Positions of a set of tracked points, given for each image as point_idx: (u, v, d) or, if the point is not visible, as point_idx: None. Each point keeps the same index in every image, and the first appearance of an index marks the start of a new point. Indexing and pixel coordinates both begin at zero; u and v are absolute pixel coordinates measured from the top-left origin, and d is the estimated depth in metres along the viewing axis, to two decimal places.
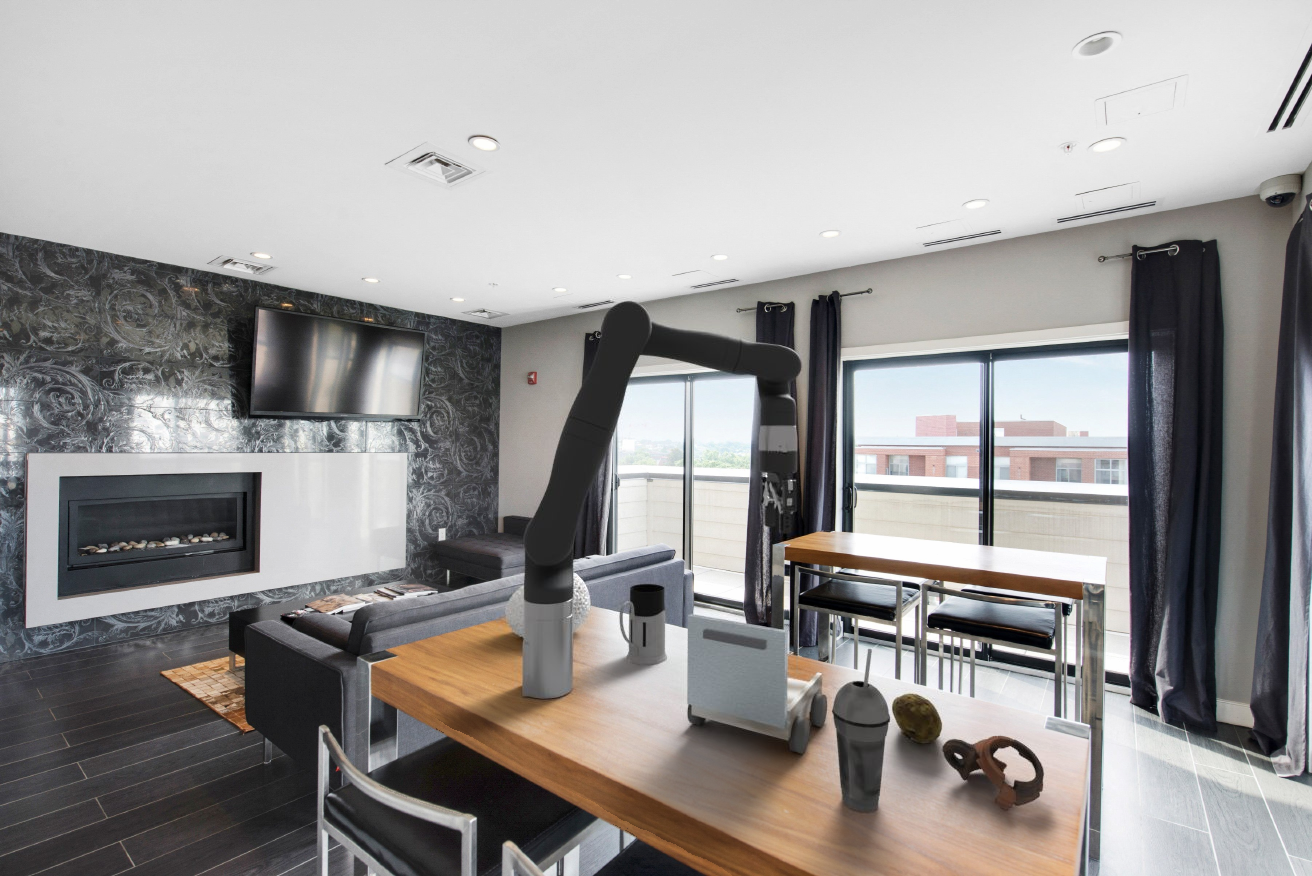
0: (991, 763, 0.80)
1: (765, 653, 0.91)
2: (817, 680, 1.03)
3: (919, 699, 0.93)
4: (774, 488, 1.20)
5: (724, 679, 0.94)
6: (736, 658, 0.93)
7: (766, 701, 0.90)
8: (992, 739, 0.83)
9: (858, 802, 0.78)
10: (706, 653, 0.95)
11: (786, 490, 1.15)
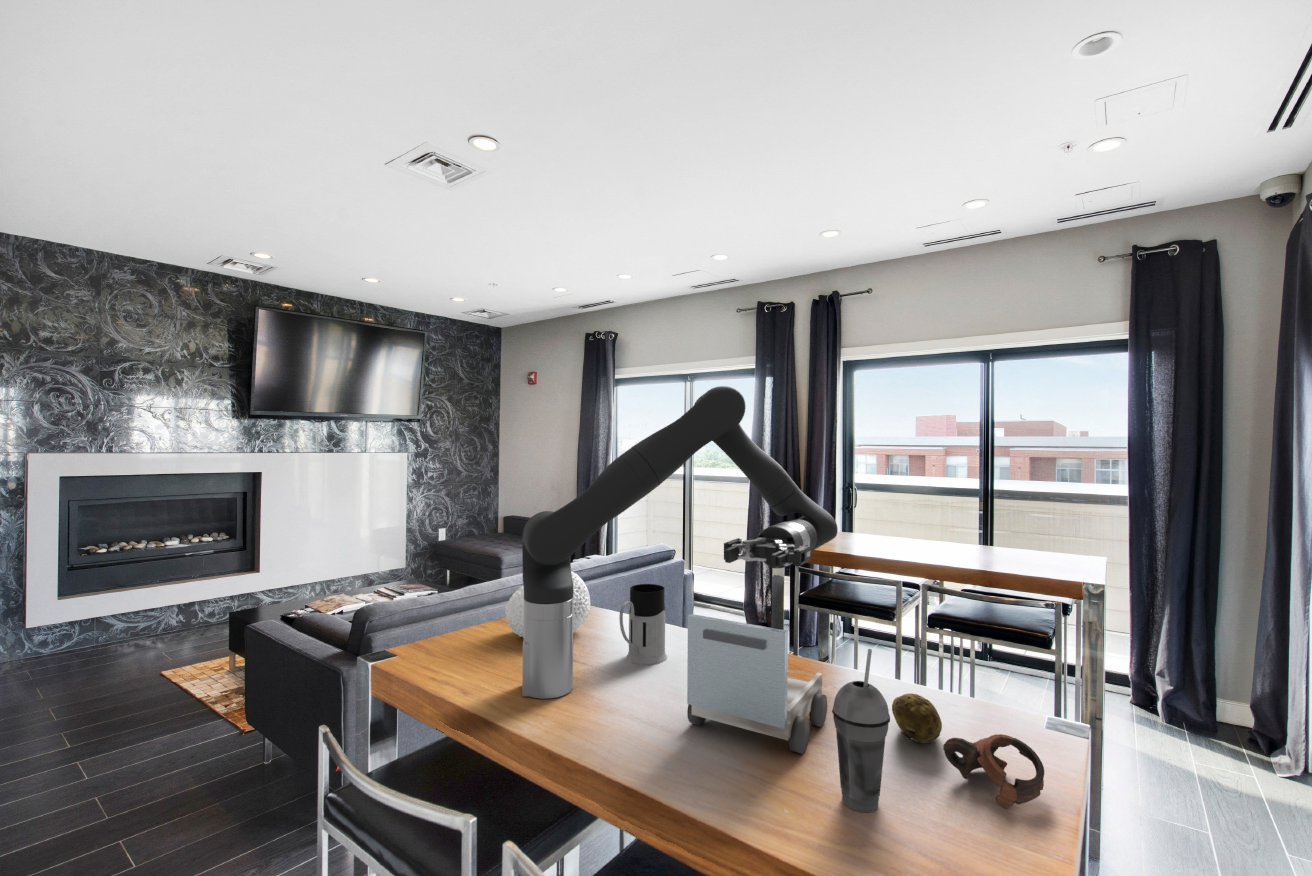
0: (992, 762, 0.80)
1: (765, 653, 0.91)
2: (817, 680, 1.03)
3: (919, 699, 0.93)
4: None
5: (724, 679, 0.94)
6: (736, 658, 0.93)
7: (766, 701, 0.90)
8: (993, 738, 0.83)
9: (858, 802, 0.78)
10: (706, 653, 0.95)
11: (807, 549, 1.02)
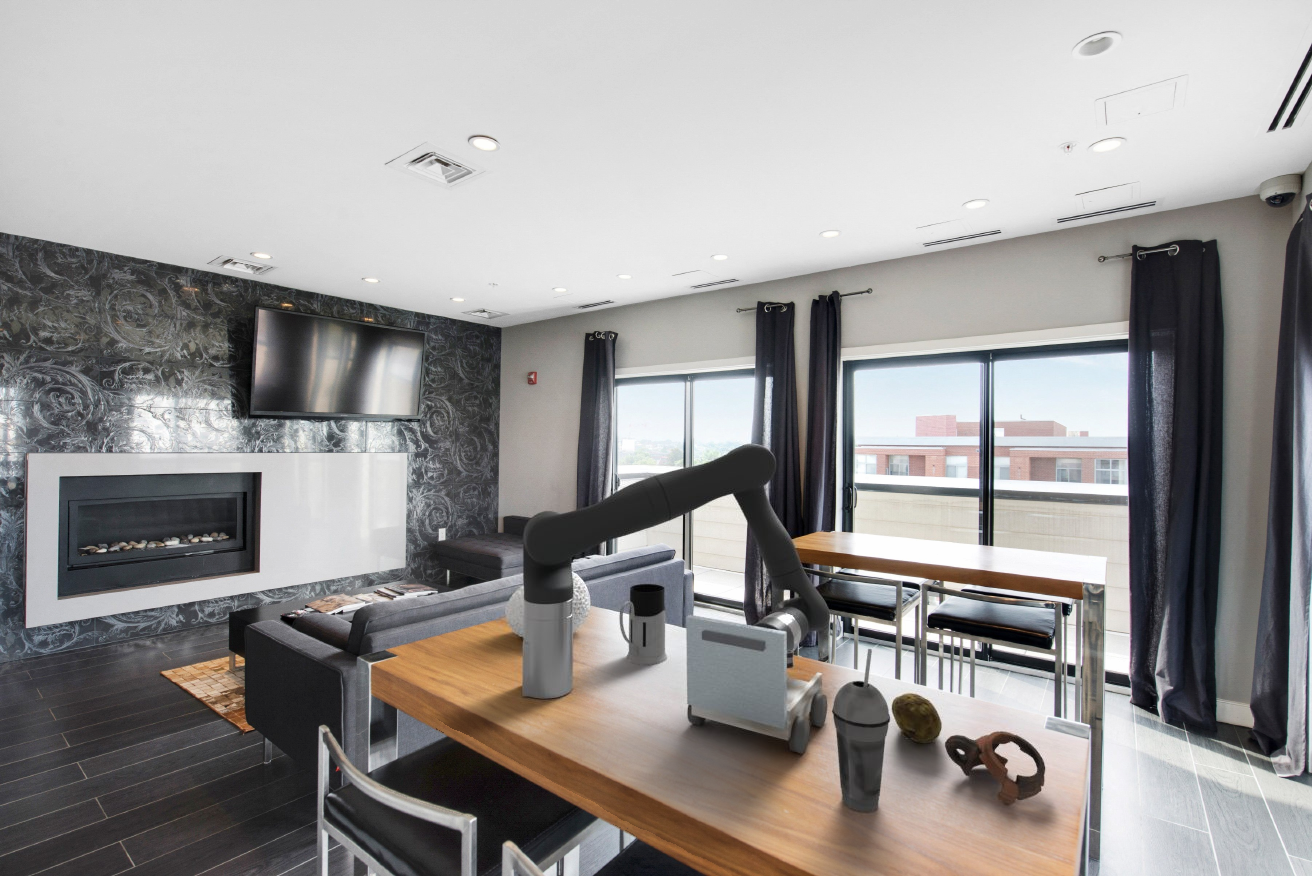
0: (994, 758, 0.81)
1: (764, 655, 0.90)
2: (817, 680, 1.03)
3: (918, 699, 0.93)
4: None
5: (723, 680, 0.94)
6: (735, 659, 0.93)
7: (766, 702, 0.90)
8: (994, 735, 0.84)
9: (858, 802, 0.78)
10: (705, 654, 0.95)
11: None
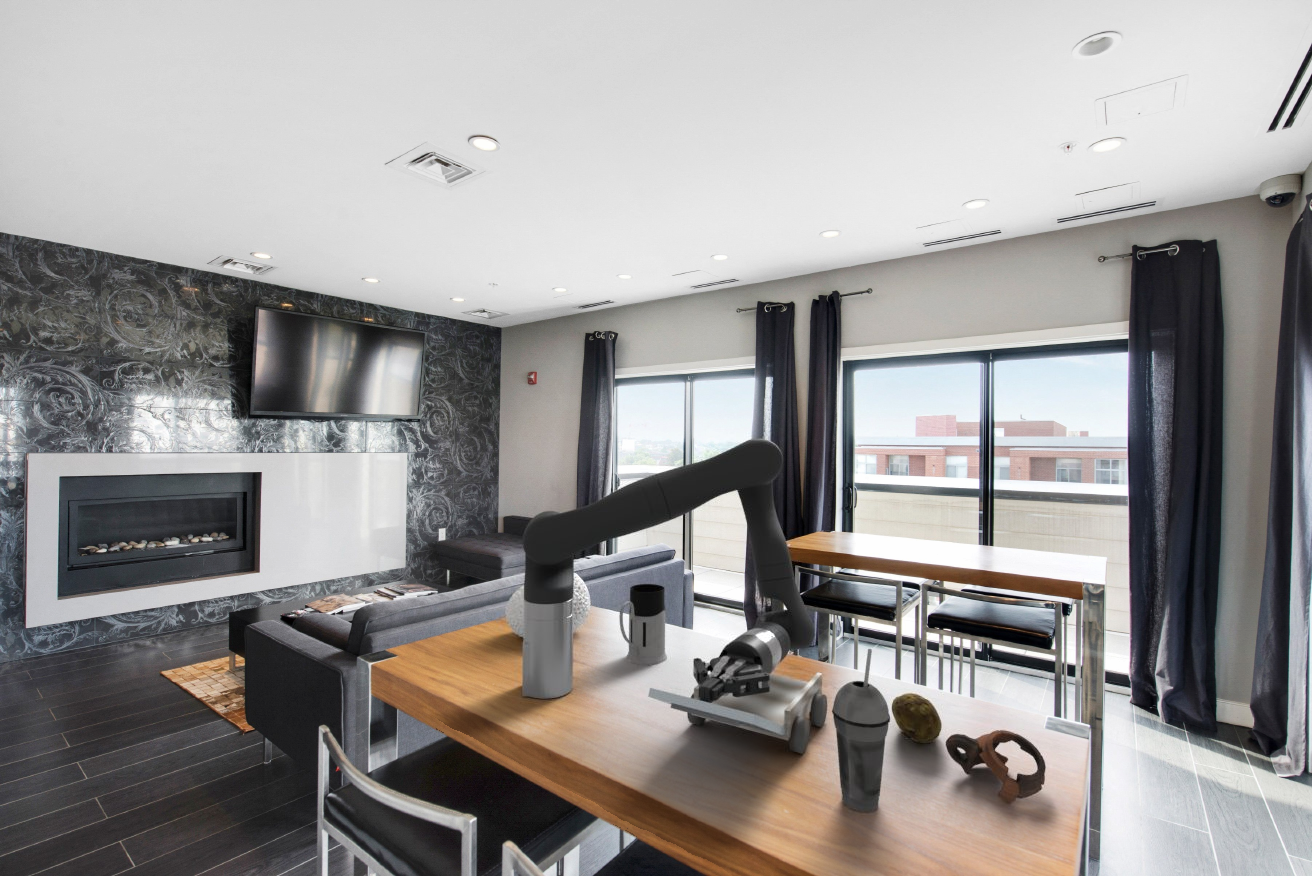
0: (994, 757, 0.81)
1: (741, 722, 0.83)
2: (817, 680, 1.03)
3: (918, 699, 0.93)
4: (742, 666, 0.91)
5: None
6: None
7: (759, 728, 0.88)
8: (995, 733, 0.84)
9: (858, 802, 0.78)
10: None
11: (759, 679, 0.88)
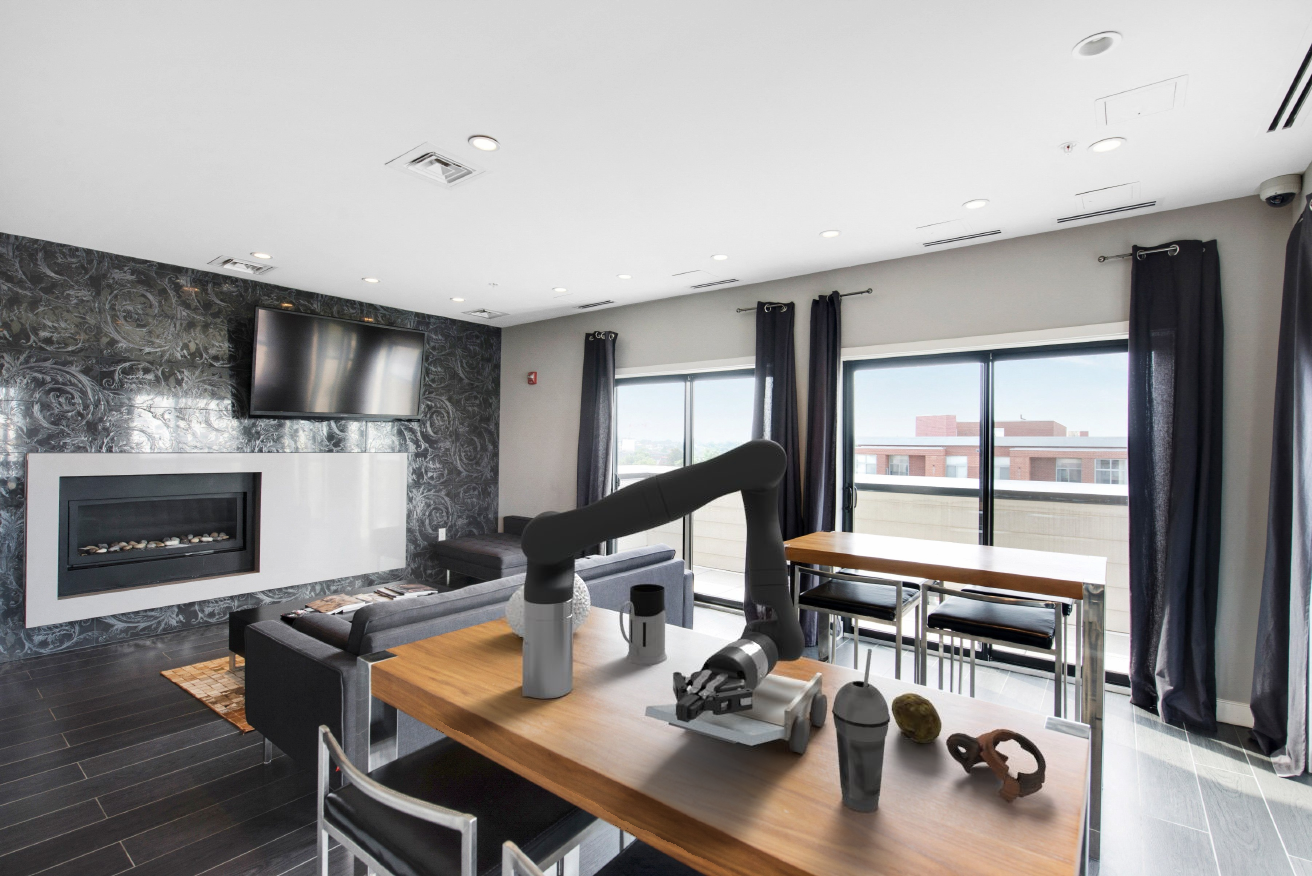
0: (995, 756, 0.82)
1: None
2: (817, 680, 1.03)
3: (918, 699, 0.93)
4: (723, 681, 0.86)
5: None
6: None
7: None
8: (995, 732, 0.85)
9: (858, 802, 0.78)
10: None
11: (741, 696, 0.82)
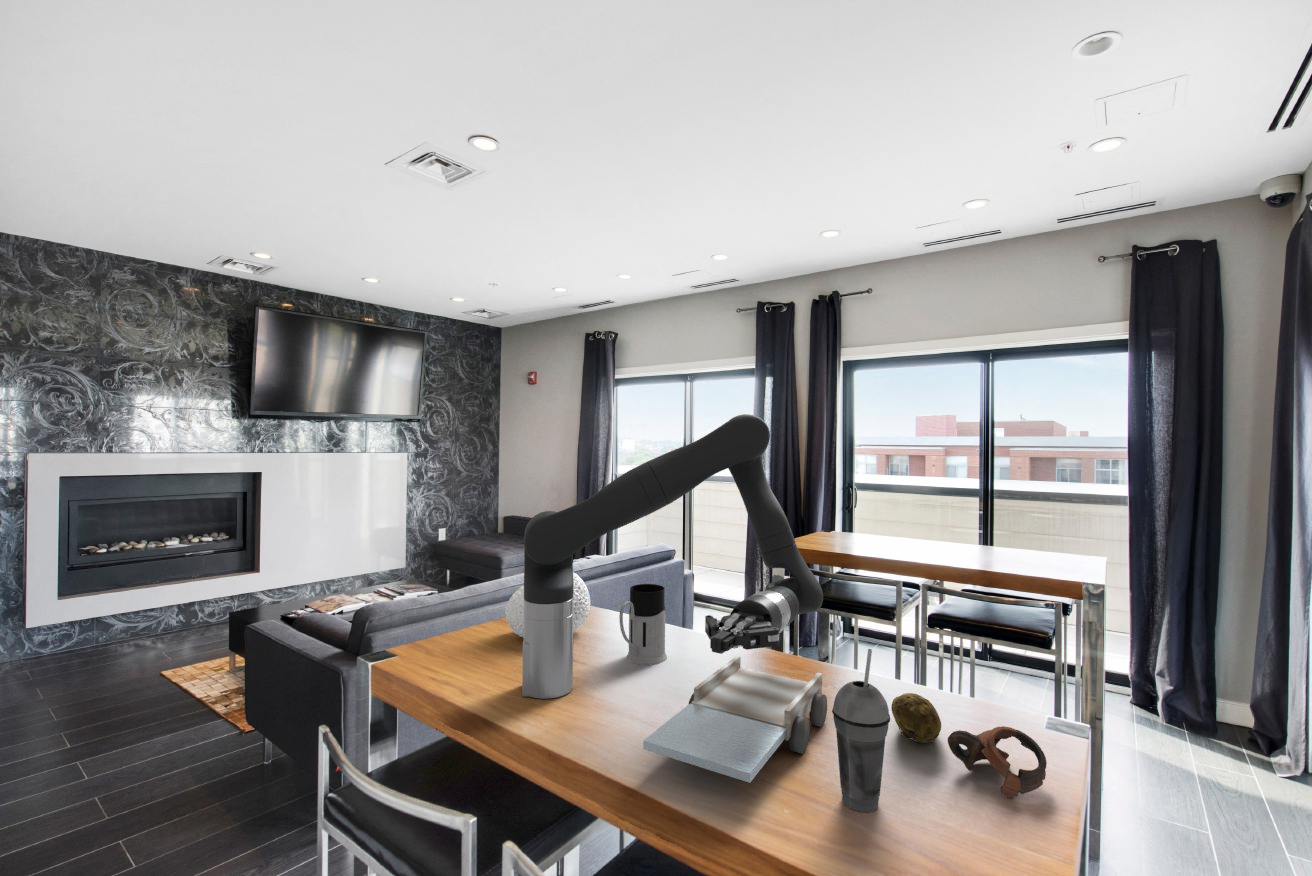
0: (996, 753, 0.82)
1: None
2: (817, 680, 1.03)
3: (918, 699, 0.94)
4: (752, 621, 0.95)
5: None
6: None
7: None
8: (996, 730, 0.85)
9: (858, 802, 0.78)
10: None
11: (769, 633, 0.91)
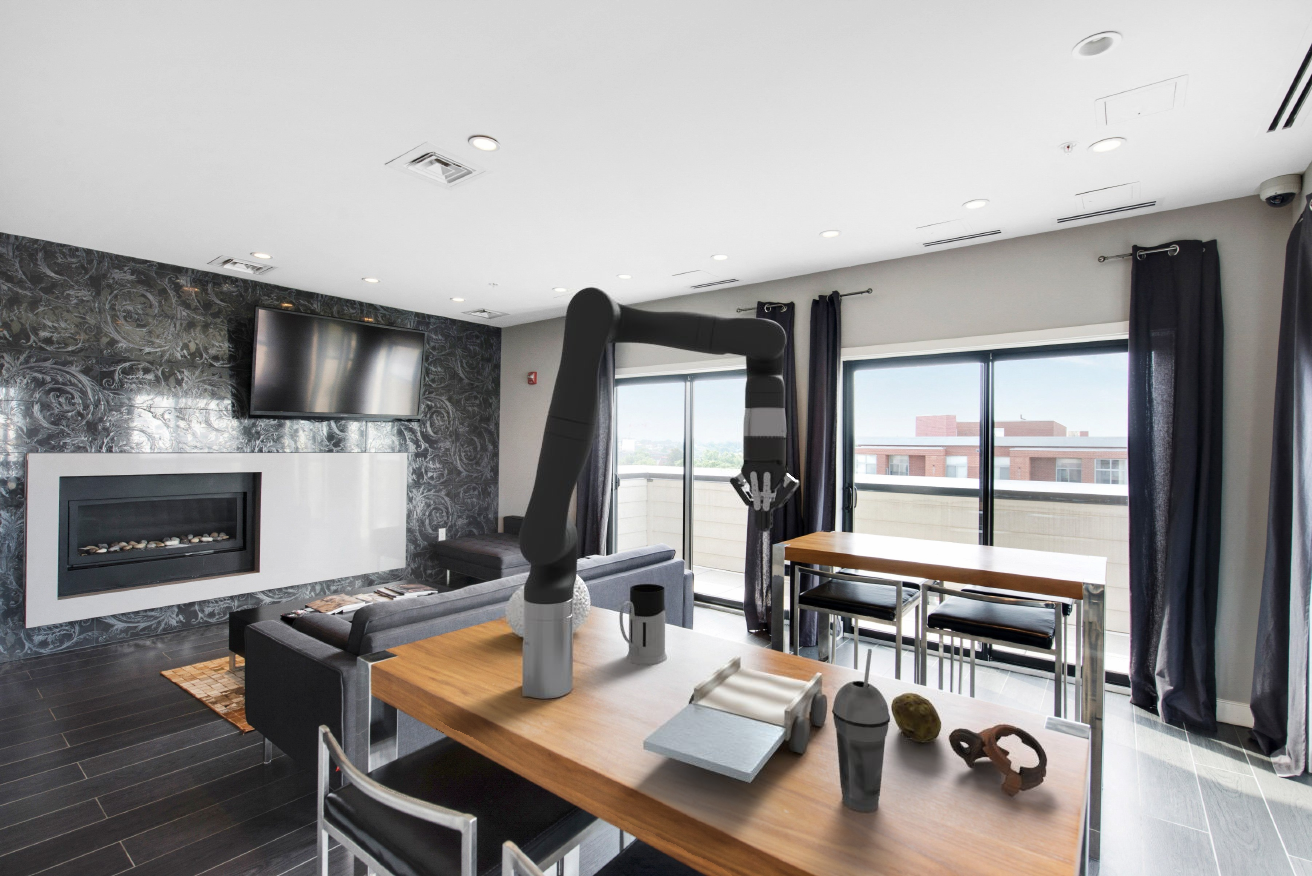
0: (997, 751, 0.83)
1: None
2: (817, 680, 1.03)
3: (918, 698, 0.94)
4: (770, 481, 1.07)
5: None
6: None
7: None
8: (997, 728, 0.86)
9: (858, 802, 0.78)
10: None
11: (790, 492, 1.06)
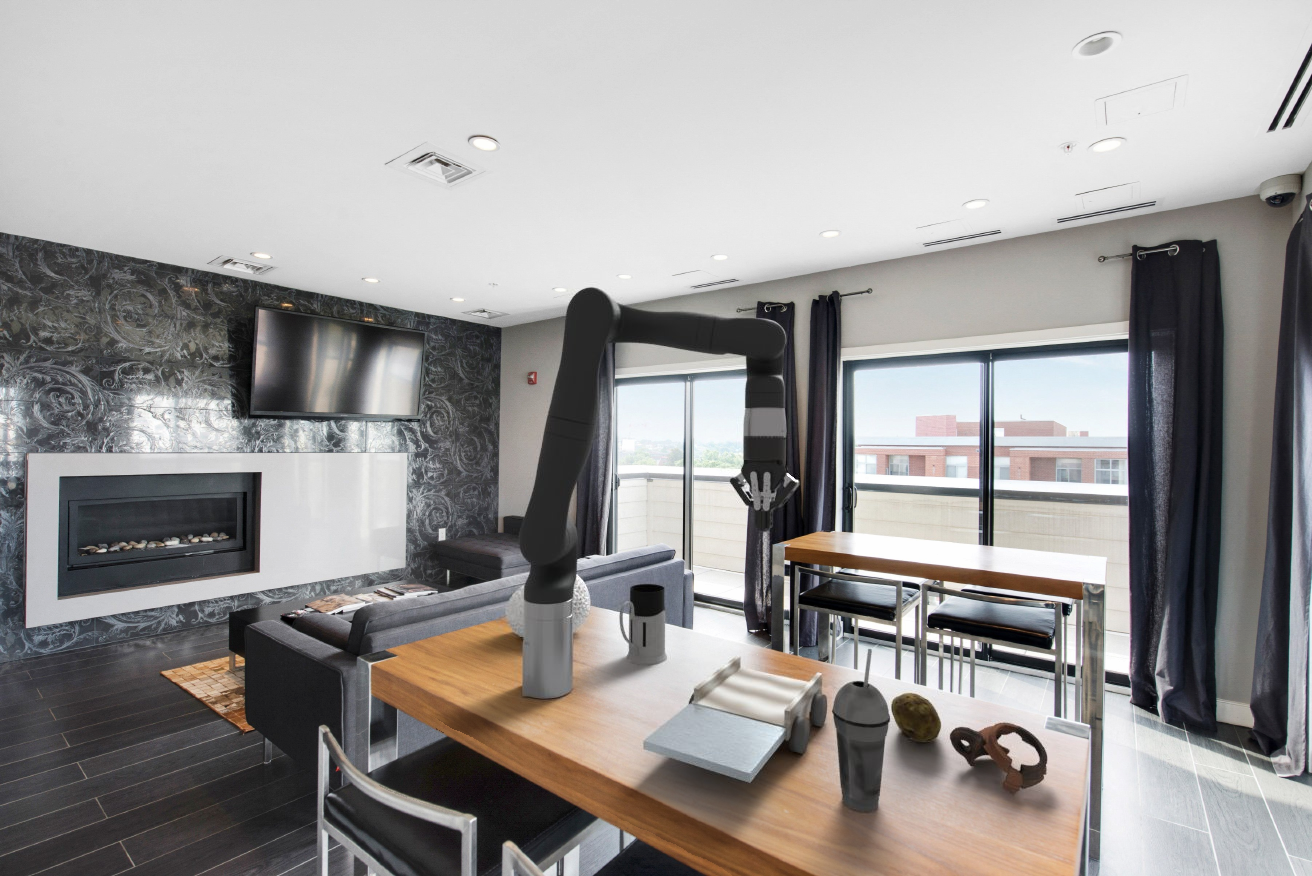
0: (998, 749, 0.84)
1: None
2: (817, 680, 1.03)
3: (918, 698, 0.94)
4: (770, 481, 1.07)
5: None
6: None
7: None
8: (998, 726, 0.87)
9: (858, 802, 0.78)
10: None
11: (790, 492, 1.06)
